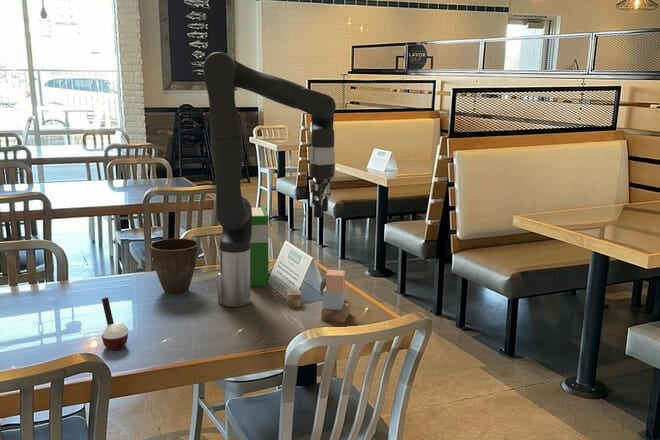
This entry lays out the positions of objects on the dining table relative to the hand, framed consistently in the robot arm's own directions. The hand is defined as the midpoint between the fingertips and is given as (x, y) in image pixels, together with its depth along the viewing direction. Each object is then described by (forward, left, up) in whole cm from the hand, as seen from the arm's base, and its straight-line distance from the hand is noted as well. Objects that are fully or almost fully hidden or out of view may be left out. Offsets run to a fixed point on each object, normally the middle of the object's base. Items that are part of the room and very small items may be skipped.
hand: (321, 214), depth 191 cm
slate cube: (+7, -11, -25) cm, 28 cm away
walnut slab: (+8, -12, -28) cm, 32 cm away
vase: (+3, +3, -28) cm, 29 cm away
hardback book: (-27, +17, -28) cm, 43 cm away
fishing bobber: (-43, -47, -28) cm, 70 cm away
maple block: (-7, -5, -28) cm, 29 cm away
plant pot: (-47, -4, -28) cm, 55 cm away
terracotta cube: (+7, -12, -20) cm, 24 cm away
